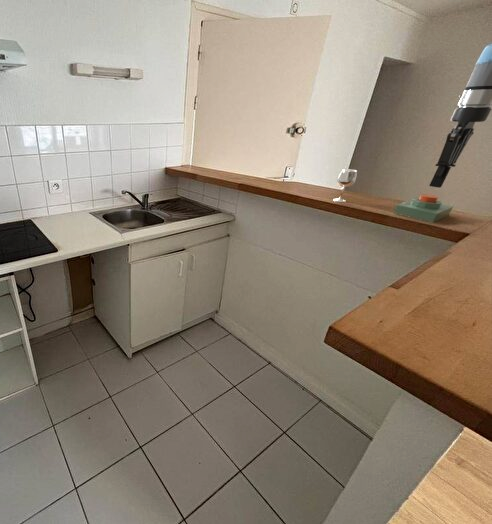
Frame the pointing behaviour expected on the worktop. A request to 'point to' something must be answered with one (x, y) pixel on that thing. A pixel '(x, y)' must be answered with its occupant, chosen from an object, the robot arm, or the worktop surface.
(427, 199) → the release button
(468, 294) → the worktop surface
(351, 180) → the wineglass
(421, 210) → the green button base
